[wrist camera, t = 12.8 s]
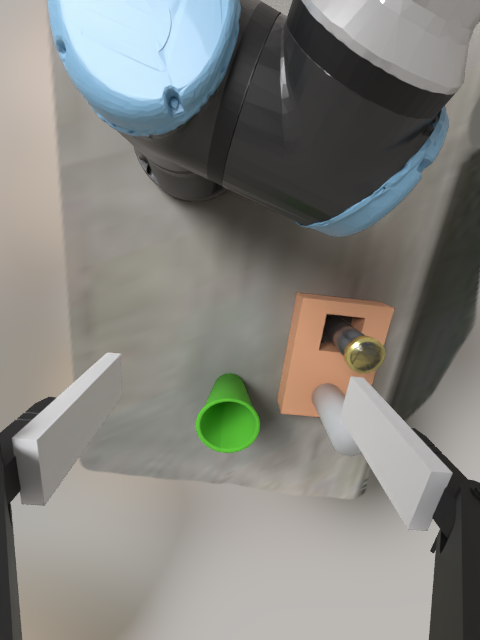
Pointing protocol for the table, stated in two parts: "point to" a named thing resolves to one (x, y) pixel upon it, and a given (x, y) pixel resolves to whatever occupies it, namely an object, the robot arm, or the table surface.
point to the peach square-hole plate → (326, 362)
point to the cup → (228, 417)
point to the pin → (354, 345)
